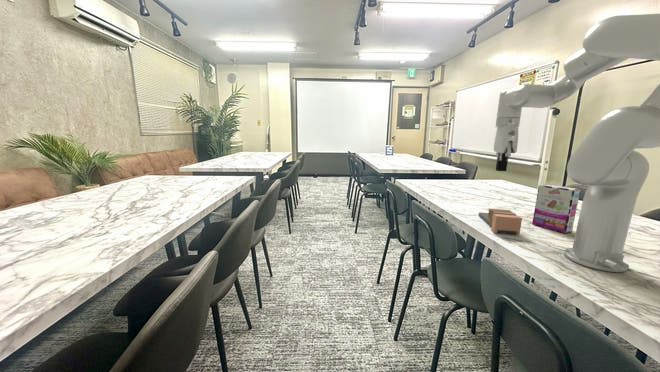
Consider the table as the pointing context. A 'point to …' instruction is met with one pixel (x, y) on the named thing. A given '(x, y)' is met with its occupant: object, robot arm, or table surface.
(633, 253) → the table surface
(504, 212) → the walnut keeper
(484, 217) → the metal rail
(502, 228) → the block
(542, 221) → the candy bar box
